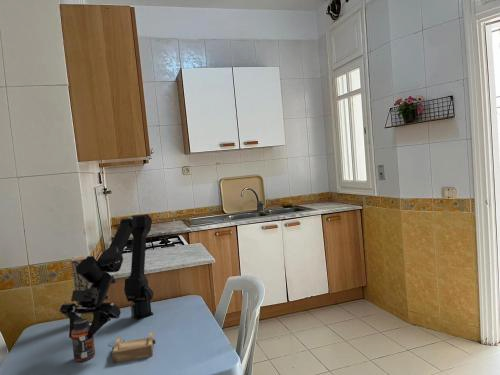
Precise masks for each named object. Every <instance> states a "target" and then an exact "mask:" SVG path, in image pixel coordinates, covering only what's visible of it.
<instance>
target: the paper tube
mask: <svg viewBox="0 0 500 375" xmlns="http://www.w3.org/2000/svg"><path fill="white" fill-rule="evenodd" d="M87 256H91V254H83V255H78V256H74V257H72V258H71V266H72V267H71V268H72V274H73V276H72V277H73V284H74V290H86V289H89V288H90V286H91V284H92V283H88V282H87V281H86V280H85V279H83V278H82V277H81V276H80V275H79V274H78V273H77V272H76V268H77V266H78V265H79V264H80V263H81V262H82V261H83V260H85V259H86V258H87ZM75 302H76V305H77V306H78V307H82V305H79V304H78V301H75ZM80 317H81V318H82V319H88V322H89V323H92V321H93V314H81V316H80Z"/></svg>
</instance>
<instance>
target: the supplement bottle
mask: <svg viewBox="0 0 500 375" xmlns="http://www.w3.org/2000/svg"><path fill="white" fill-rule="evenodd" d="M89 323H90V322H88V319H79V320H77V321H75V322H74V329H73V330H72V332H71V335H72V339H71V341H72V344H71V345H72V352H73V359H74V361H76V362H84V361H89V360H90V359H92V358H93V357H94V356H95V355H96V348H95V347H96V346H95V341H94V340H95V339H94V335H93V336H92V337H91V338H90V339H88V338H87V335H88V332H89V329H90V326H91V324H89Z"/></svg>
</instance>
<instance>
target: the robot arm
mask: <svg viewBox="0 0 500 375" xmlns="http://www.w3.org/2000/svg"><path fill="white" fill-rule="evenodd" d="M119 221H120V222H119V227H118V228H117V230H116V232H115V234H114V237H113V238H112V241H111V242H110V244H109V246H108V248H106V249H105V250H104V251H102V253H101V254H100V255H99V256H98V258H97V259H96V258H95V257H94V256H92V255H90V256H87V258H86V259H85V260H83V261H82V262H81V263H80V264H79V265H78V266H77V268H76V272H77V273H78V274H79V275H80V276H81V277H82V278H83V279H85V280H86V281H87V282H88V283H92V284H91V286H90V288H89V289H86V290H75V289H73V290H72V294H71V299H70V302H68V303H63V304H61V306H60V308H59V310H58V311H59V312H60V313H61V314H62V315H64V316H65V317H66V318H68V319H69V332H68V338H69V339H71V340H72V335H71V332H72V330H73V329H74V322H75V321H77V320H79V319H82V318H81V317H80V316H81V314H93V321H92V322H91V324H90V329H89V332H88V335H87V338H88V339H90V338H91V337H92V336H93V337H94V335H95V334H96V333H97V332H98V331H99V330H100V329H101V328H102V327H104V326H105V325H106V324H107V322H110V321H111V319H113V320H114V319H119V318H120V316H121V309H120V307H119V306H117V305H116V304H115V303H114V302H105V301H108V299H109V296H108V295H107V294H108V292H109V289H110V287H111V284H116V278H115V276H114V275H113V274H112V275H111V273H118V272H120V270H121V267H122V265H123V261H124V257H123V253H124V249H125V248H126V246H127V243H128V241H129V239H130V237H131V235H132V250H131V263H130V264H131V266H130V267H131V268H130V275H129V276H128V278H125V280H124V288H123V291H124V295H125V297H126V300H127V302H130V303H131V305H130V312H131V314H130V316H131V317H133V319H134V318H135V319H136V320H140V319H143V318H146V317H149V316H152V315H154V312H153V311H152V305H151V300H153V298H154V290H152V289H151V288H150V287H149V281H148V278H147V277H146V275H145V263H146V243H147V237H148V235H149V233H150V232H151V229H152V223H153V220H152V217H151V216H150V215H149V214H148V213H147V214H145V213H144V214H133V215H132V216H131V217H125V218H122V219H120V220H119ZM76 301H78V304H79V305H82V307H78V306H77V304H76V303H74V302H76Z"/></svg>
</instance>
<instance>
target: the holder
mask: <svg viewBox="0 0 500 375" xmlns="http://www.w3.org/2000/svg"><path fill="white" fill-rule="evenodd" d="M156 342H157V341H156V339H155V336H154V331H153V330H152V331H150V332H149V336H148V337H143V338H139V339H134V340H130V341H122V337H121V336H119V337H117V339H116V341H115V344H114V346H112V348H111V350H112V352H111V356H112V363H113V364H116V363H117V364H118V363H122V362H127V361H133V360H138V359H142V358H146V357H147V358H148V357H152V356H153V355H154V345H155V344H156Z"/></svg>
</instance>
